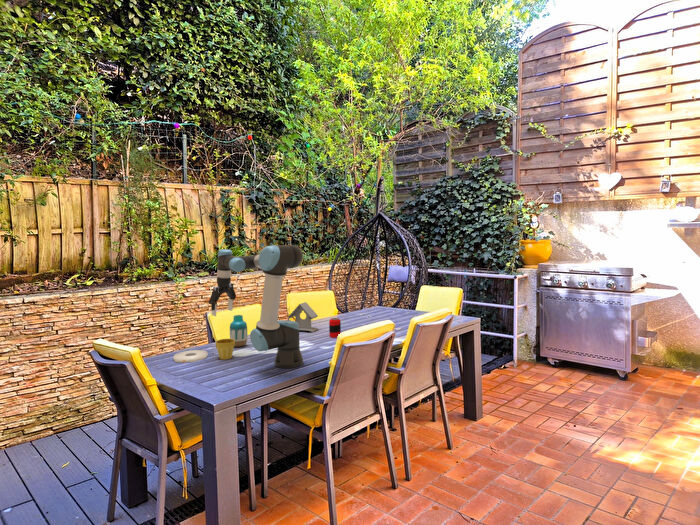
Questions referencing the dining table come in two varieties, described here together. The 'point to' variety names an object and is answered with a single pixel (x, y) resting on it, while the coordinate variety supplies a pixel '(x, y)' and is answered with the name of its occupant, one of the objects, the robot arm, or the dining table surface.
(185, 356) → the base
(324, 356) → the dining table surface
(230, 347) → the plant pot
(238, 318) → the vase
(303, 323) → the wooden nesting box
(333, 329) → the soda can
